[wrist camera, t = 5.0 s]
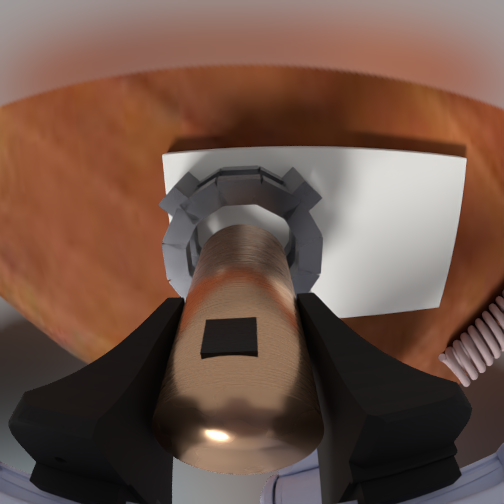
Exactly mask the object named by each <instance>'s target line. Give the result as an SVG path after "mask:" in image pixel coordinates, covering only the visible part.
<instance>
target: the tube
mask: <svg viewBox="0 0 504 504" xmlns="http://www.w3.org/2000/svg"><path fill="white" fill-rule="evenodd" d="M152 430H153V434H154V436H155V438H156V440H157V441H158V443H159V444H160V445H161V446H162V448H163V449H164V450H166V451H167V452H168V453H169V454H171V455H172V456H174V457H175V458H177V459H179V460H180V461H182V462H184V463H187V464H189V465H191V466H194V467H197V468H200V469H204V470H207V471H212V472H217V473H224V474H236V475H237V474H238V475H239V474H240V475H241V474H242V475H246V474H259V473H265V472H271V471H275V470H279V469H283V468H285V467H288V466H291V465H293V464H295V463H297V462H299V461H301V460H303V459H304V458H306V457H307V456H309V455H310V454H311V453H312V452H313V451H315V450H316V448H317V447H318V446H319V445H320V443H321V441H322V439H323V436H324V423H323V419H322V414H321V409H320V404H319V399H318V394H317V390H316V385H315V380H314V376H313V371H312V366H311V362H310V357H309V353H308V348H307V344H306V339H305V335H304V331H303V326H302V322H301V317H300V313H299V309H298V305H297V300H296V296H295V292H294V288H293V284H292V279H291V275H290V271H289V267H288V263H287V259H286V255H285V251H284V249H283V247H282V245H281V244H280V242H279V241H278V240H277V238H276V237H274V236H273V235H272V234H271V233H270V232H268V231H266V230H265V229H263V228H260V227H258V226H254V225H248V224H237V225H231V226H227V227H225V228H222V229H220V230H219V231H217V232H215V233H214V234H213V235H212V236H211V237H210V238H209V239H208V240H207V241H206V243H205V244H204V246H203V248H202V250H201V253H200V256H199V259H198V262H197V265H196V268H195V272H194V275H193V278H192V281H191V284H190V288H189V291H188V294H187V297H186V301H185V304H184V307H183V311H182V314H181V318H180V321H179V324H178V328H177V331H176V335H175V338H174V342H173V345H172V349H171V352H170V356H169V359H168V363H167V367H166V370H165V374H164V378H163V381H162V385H161V389H160V393H159V396H158V400H157V404H156V408H155V412H154V416H153V420H152Z"/></svg>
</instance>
